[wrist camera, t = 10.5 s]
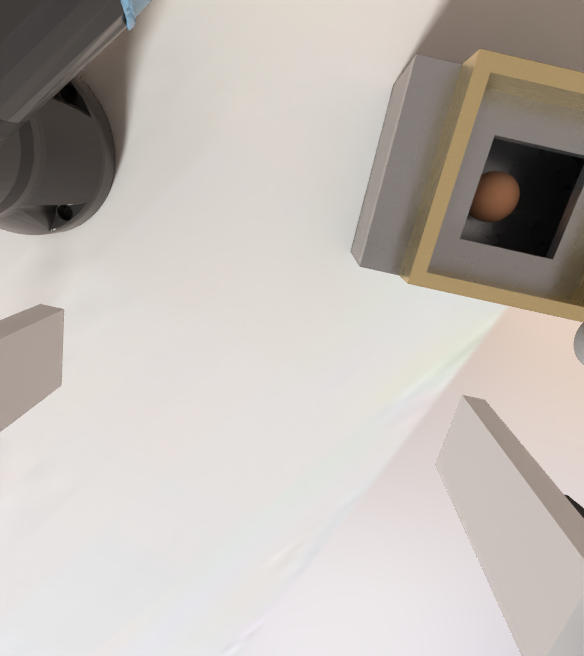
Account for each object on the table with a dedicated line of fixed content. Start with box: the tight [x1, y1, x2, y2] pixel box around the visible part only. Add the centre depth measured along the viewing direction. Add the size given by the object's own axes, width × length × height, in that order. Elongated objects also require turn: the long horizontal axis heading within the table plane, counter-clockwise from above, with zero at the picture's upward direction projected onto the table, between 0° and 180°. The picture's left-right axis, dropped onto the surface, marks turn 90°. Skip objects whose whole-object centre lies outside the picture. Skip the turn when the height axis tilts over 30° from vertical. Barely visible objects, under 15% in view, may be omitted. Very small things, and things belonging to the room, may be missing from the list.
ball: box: [469, 171, 520, 222], centre depth 34 cm, size 4×4×4 cm
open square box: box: [351, 49, 584, 322], centre depth 31 cm, size 20×14×11 cm
